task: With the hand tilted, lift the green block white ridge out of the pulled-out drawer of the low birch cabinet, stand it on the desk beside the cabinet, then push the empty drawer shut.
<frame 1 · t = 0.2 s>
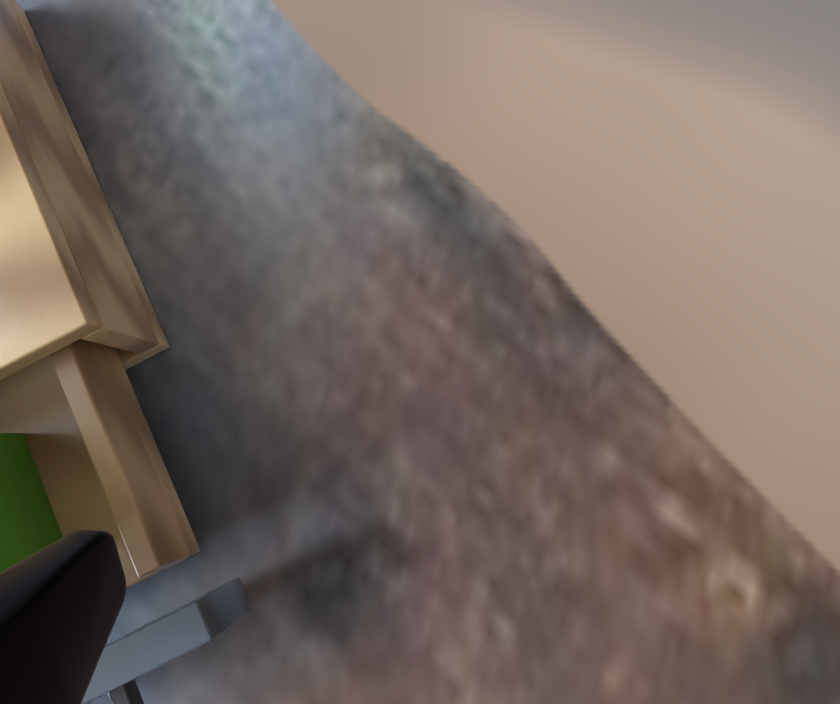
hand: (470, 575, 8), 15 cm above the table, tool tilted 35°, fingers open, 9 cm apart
green block white ridge: (2, 524, 22), point 2 cm above the table, touching drawer
drawer: (2, 558, 21), point 3 cm above the table, slide at 8.5 cm, touching green block white ridge
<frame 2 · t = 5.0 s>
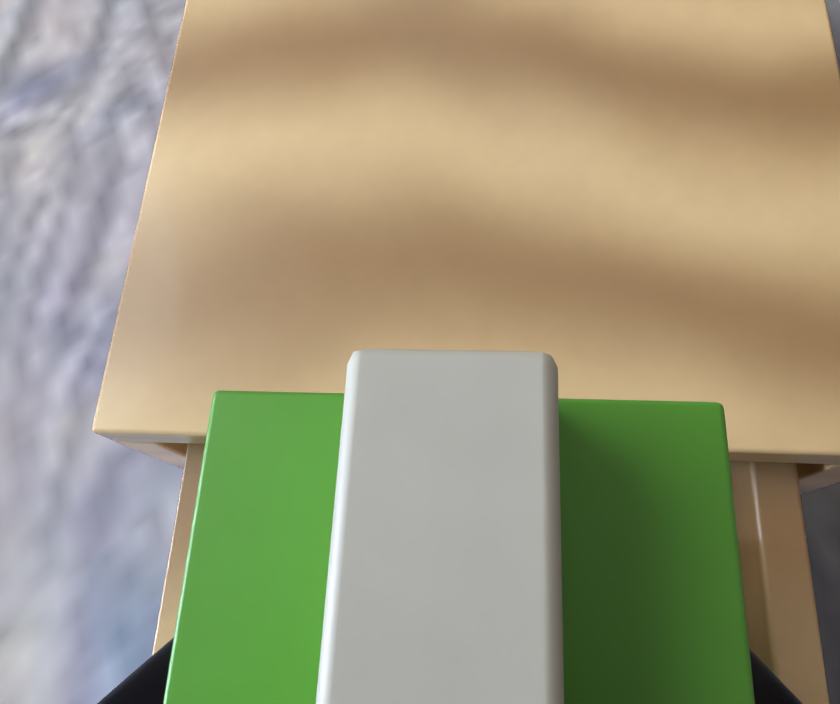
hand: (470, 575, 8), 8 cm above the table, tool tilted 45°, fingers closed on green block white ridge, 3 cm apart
green block white ridge: (474, 658, 13), point 2 cm above the table, touching drawer, gripper
cabinet: (486, 203, 18), on the table
when the fingers open (6 cm above the table, at t = 11.7 s): green block white ridge stays where it is, on the table.
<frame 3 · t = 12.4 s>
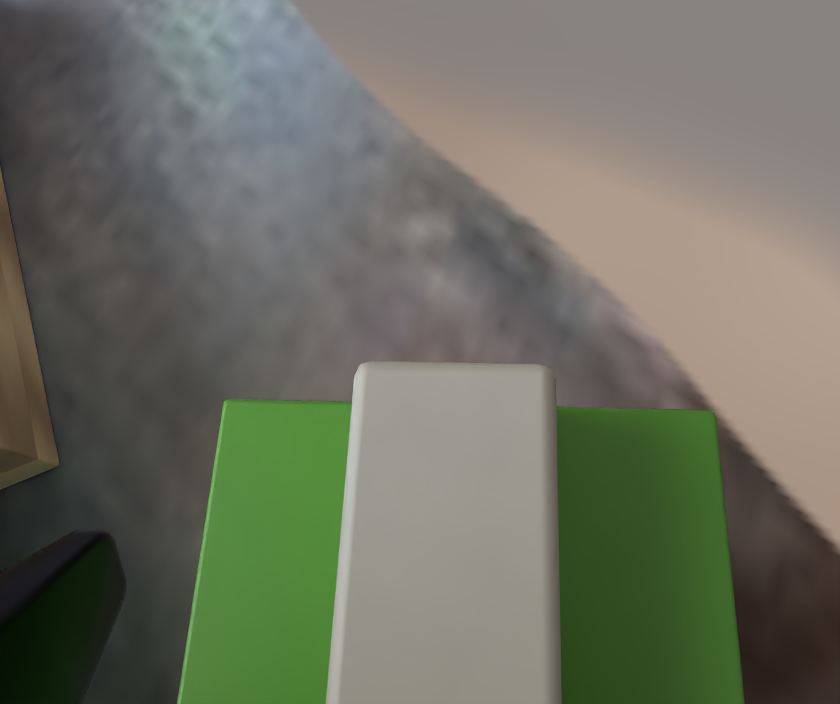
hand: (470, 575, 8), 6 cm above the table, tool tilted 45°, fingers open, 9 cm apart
green block white ridge: (475, 658, 13), on the table
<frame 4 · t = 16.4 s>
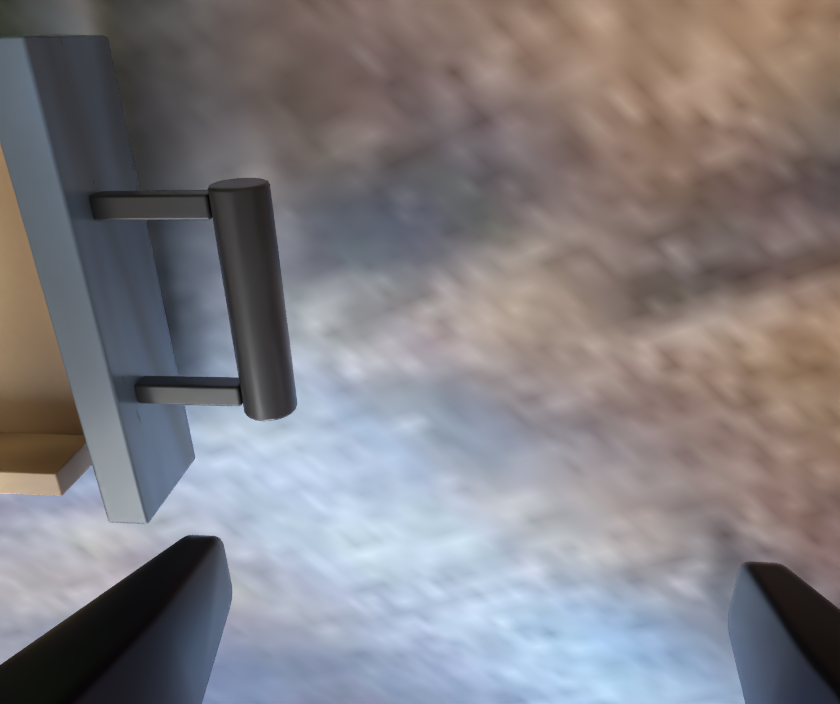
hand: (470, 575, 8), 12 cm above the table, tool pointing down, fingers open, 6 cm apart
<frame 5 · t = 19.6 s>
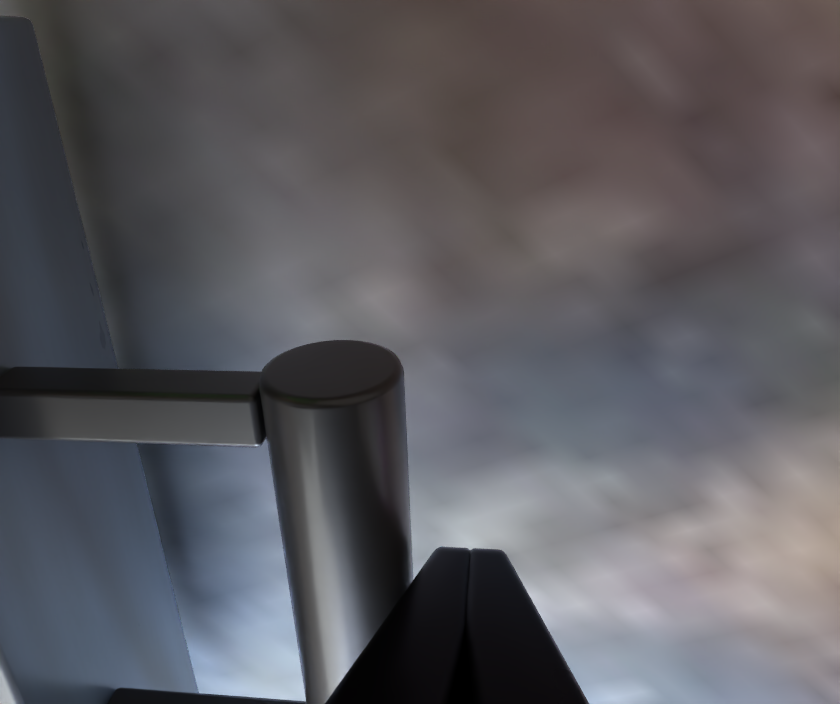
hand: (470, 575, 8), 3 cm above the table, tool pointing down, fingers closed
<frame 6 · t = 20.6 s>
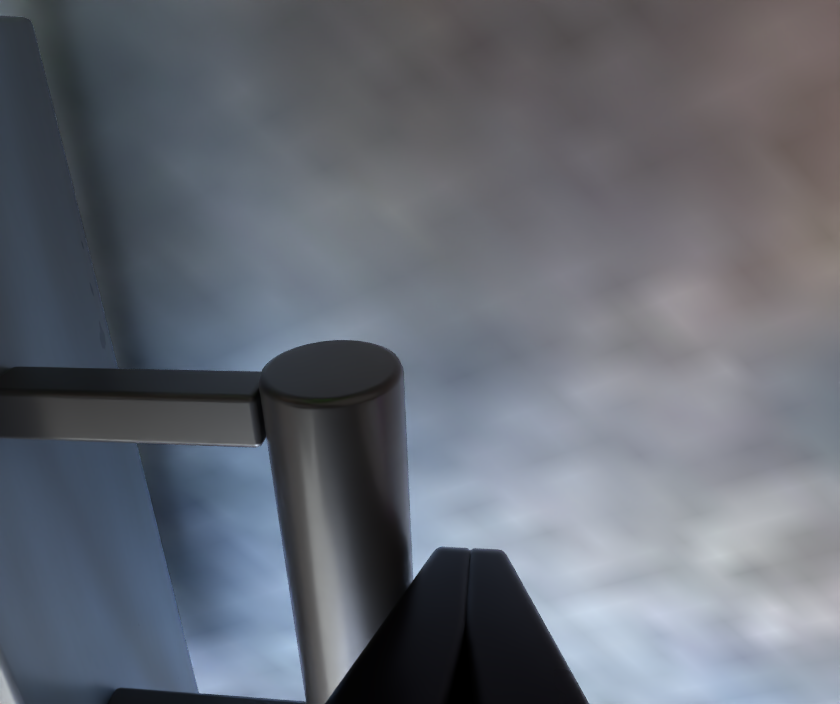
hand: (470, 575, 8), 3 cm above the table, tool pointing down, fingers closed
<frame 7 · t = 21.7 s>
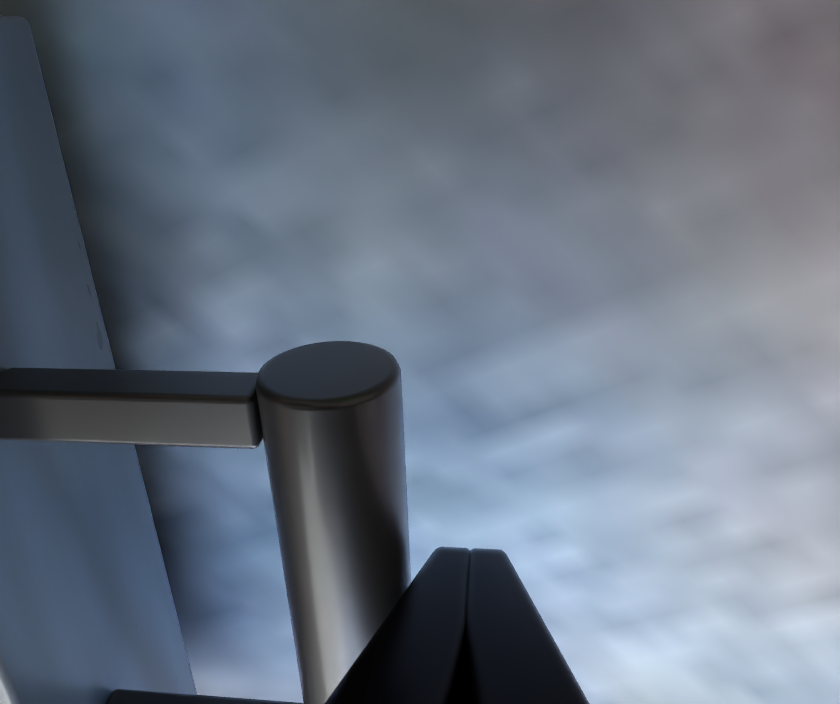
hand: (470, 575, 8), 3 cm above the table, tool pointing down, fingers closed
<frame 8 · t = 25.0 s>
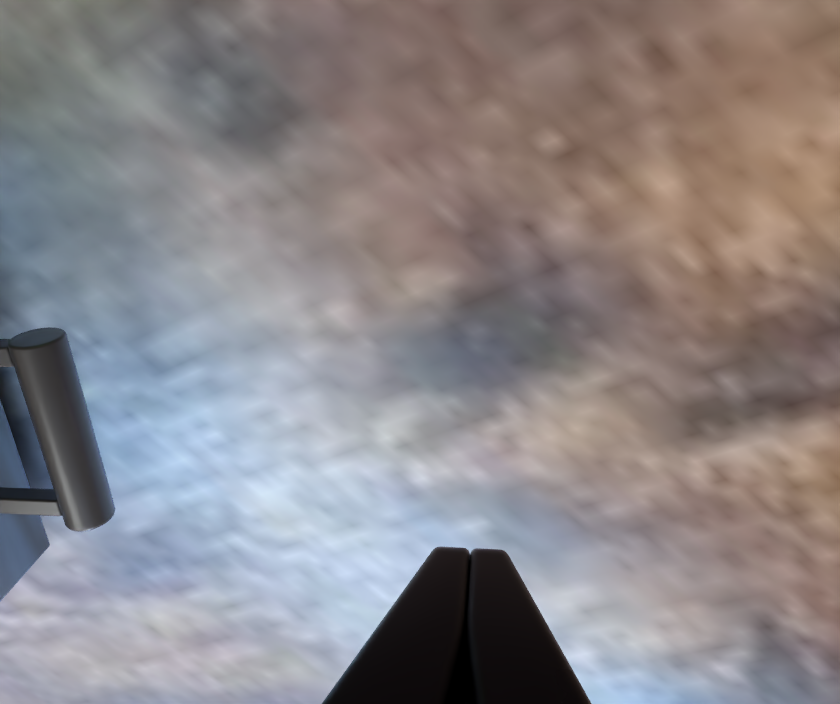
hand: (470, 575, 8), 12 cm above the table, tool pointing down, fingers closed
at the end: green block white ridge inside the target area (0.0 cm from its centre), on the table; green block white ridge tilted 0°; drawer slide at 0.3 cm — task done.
